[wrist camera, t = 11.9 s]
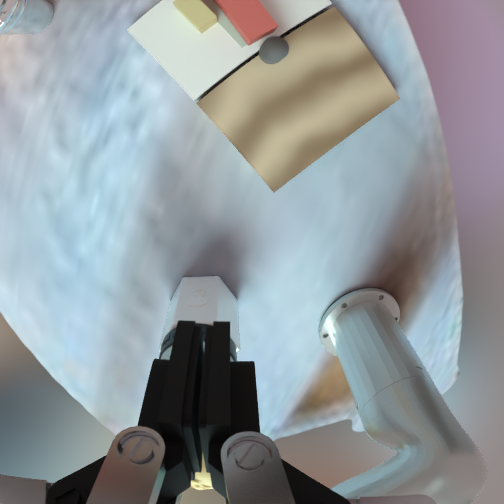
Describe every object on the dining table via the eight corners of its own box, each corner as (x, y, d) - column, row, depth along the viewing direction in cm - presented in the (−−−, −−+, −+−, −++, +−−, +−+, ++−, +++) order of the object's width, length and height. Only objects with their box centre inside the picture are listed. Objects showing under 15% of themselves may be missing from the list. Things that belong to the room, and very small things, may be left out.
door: (327, 7, 27) (339, -3, 23) (195, 100, 31) (190, 100, 27) (262, -59, 23) (267, -75, 19) (131, 33, 27) (118, 25, 23)
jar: (236, 272, 41) (239, 337, 30) (238, 323, 44) (242, 391, 34) (165, 275, 40) (146, 338, 29) (174, 325, 44) (162, 391, 33)
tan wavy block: (392, 97, 32) (416, 99, 27) (271, 188, 36) (278, 202, 31) (326, 6, 27) (341, -7, 22) (194, 99, 31) (188, 99, 26)
